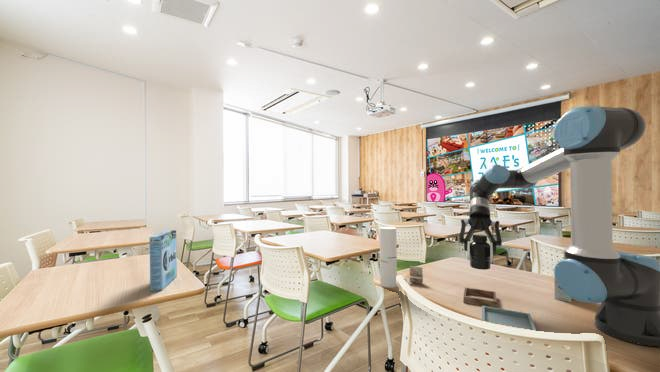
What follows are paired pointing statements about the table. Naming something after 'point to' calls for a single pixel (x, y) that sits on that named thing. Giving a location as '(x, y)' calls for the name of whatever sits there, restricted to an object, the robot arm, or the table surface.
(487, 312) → the tray
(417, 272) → the architectural model
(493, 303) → the frame
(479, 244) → the supplement bottle
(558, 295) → the ink box
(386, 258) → the cylindrical container
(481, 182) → the robot arm
